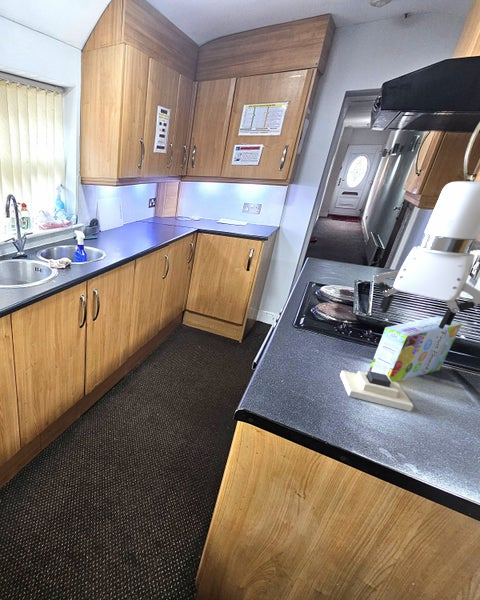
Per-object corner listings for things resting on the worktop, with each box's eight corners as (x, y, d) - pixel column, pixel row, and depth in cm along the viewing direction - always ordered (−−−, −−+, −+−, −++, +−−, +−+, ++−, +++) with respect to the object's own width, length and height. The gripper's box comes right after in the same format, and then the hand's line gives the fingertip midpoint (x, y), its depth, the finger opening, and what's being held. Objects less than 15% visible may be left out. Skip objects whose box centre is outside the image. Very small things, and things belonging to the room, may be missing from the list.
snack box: (416, 360, 97) (438, 314, 91) (440, 371, 92) (465, 323, 86) (365, 373, 91) (384, 326, 85) (387, 385, 86) (410, 336, 80)
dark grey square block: (383, 380, 83) (386, 374, 82) (388, 388, 80) (391, 382, 80) (365, 376, 85) (368, 370, 84) (370, 384, 82) (372, 378, 81)
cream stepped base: (395, 388, 85) (400, 376, 84) (410, 411, 77) (417, 399, 76) (339, 375, 90) (343, 364, 89) (348, 396, 82) (353, 384, 80)
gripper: (511, 250, 63) (469, 329, 70) (395, 235, 76) (368, 303, 83) (509, 256, 59) (465, 338, 66) (386, 239, 72) (359, 309, 78)
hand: (411, 318), depth 74 cm, fingers open, 9 cm apart
